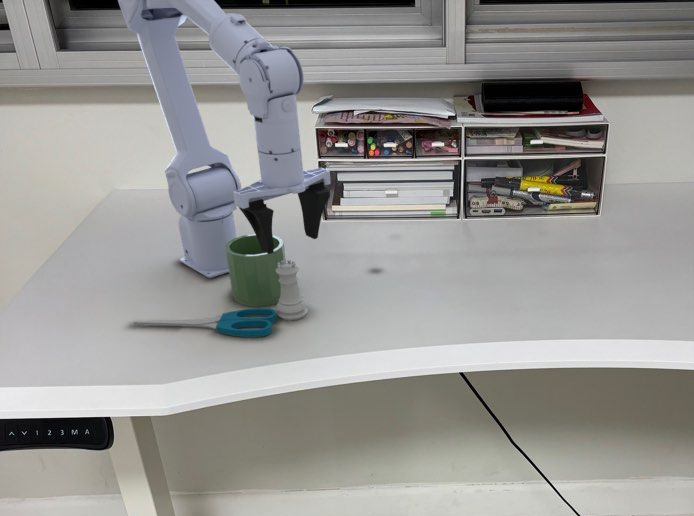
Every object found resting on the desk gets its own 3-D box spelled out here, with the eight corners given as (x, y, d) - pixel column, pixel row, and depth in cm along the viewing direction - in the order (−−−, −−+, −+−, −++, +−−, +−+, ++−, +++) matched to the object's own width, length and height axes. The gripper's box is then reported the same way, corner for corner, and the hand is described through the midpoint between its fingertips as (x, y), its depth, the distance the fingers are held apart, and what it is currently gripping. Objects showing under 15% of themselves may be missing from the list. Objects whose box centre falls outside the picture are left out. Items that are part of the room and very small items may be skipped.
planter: (222, 293, 121) (214, 244, 117) (268, 277, 126) (262, 229, 122) (253, 311, 116) (245, 261, 112) (300, 294, 121) (294, 244, 117)
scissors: (269, 330, 109) (124, 331, 109) (270, 336, 110) (126, 337, 110) (277, 308, 115) (140, 309, 115) (278, 313, 115) (142, 315, 115)
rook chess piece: (313, 310, 117) (308, 259, 112) (299, 323, 113) (293, 272, 109) (286, 305, 118) (280, 255, 113) (271, 318, 114) (264, 267, 110)
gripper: (248, 166, 99) (262, 267, 107) (340, 143, 108) (347, 238, 115) (219, 154, 103) (234, 251, 111) (309, 133, 112) (318, 225, 119)
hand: (290, 244), depth 113 cm, fingers open, 7 cm apart
